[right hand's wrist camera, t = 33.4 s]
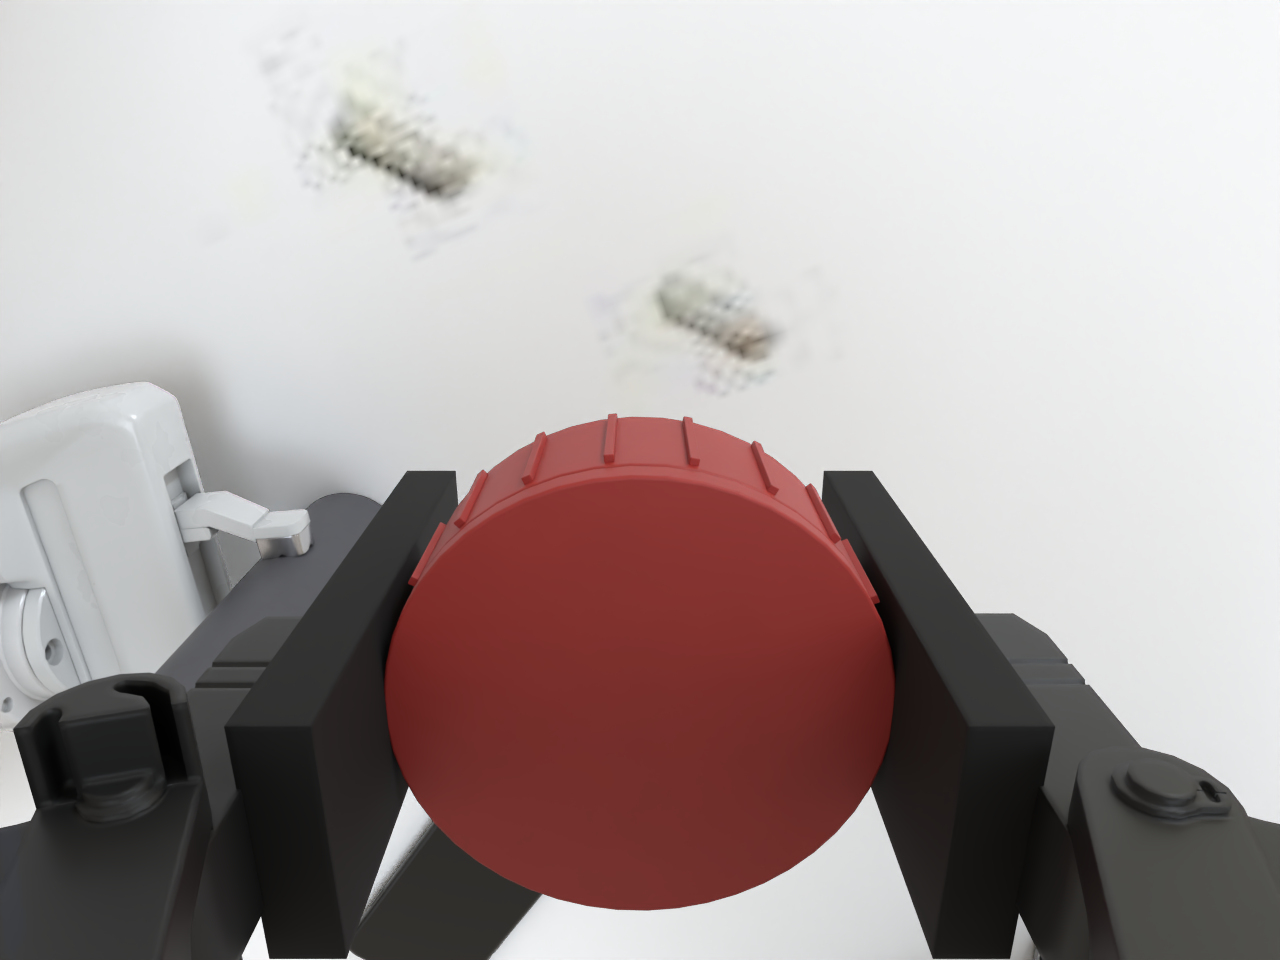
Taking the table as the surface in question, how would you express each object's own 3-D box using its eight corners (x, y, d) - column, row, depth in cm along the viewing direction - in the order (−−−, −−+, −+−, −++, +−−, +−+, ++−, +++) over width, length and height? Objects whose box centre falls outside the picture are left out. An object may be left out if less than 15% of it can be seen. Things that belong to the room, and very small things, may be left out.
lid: (497, 344, 11) (463, 389, 9) (933, 502, 11) (997, 578, 9) (374, 726, 13) (323, 837, 11) (753, 841, 13) (774, 966, 11)
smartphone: (479, 755, 49) (342, 937, 54) (476, 766, 48) (338, 950, 53) (598, 820, 51) (456, 992, 55) (597, 831, 50) (453, 1005, 54)
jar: (380, 605, 46) (207, 911, 27) (282, 563, 45) (34, 850, 27) (419, 520, 44) (262, 786, 26) (318, 474, 43) (80, 716, 25)
